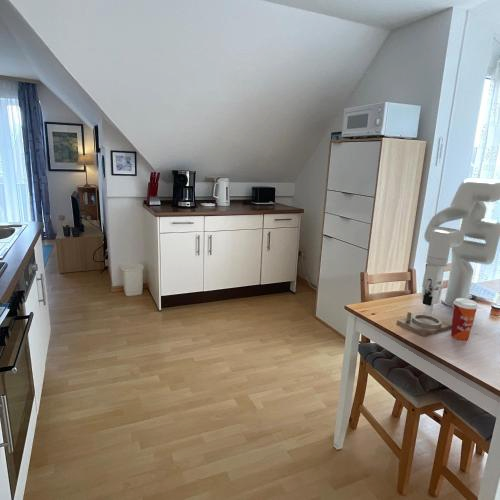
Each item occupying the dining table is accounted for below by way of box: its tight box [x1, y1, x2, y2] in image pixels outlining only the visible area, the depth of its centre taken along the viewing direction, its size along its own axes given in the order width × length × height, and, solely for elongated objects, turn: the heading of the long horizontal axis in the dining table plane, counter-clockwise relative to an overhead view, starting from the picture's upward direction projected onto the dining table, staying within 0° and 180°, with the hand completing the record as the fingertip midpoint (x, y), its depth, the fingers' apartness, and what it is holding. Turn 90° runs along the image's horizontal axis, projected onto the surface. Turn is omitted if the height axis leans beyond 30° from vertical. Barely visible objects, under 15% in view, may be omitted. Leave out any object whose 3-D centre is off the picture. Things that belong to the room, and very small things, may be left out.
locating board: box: [396, 311, 452, 337], centre depth 151 cm, size 20×13×6 cm, turn 118°
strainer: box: [420, 281, 444, 314], centre depth 149 cm, size 7×7×15 cm
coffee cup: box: [450, 298, 479, 342], centre depth 141 cm, size 8×8×15 cm
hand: (429, 302), depth 149 cm, fingers closed on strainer, 6 cm apart
